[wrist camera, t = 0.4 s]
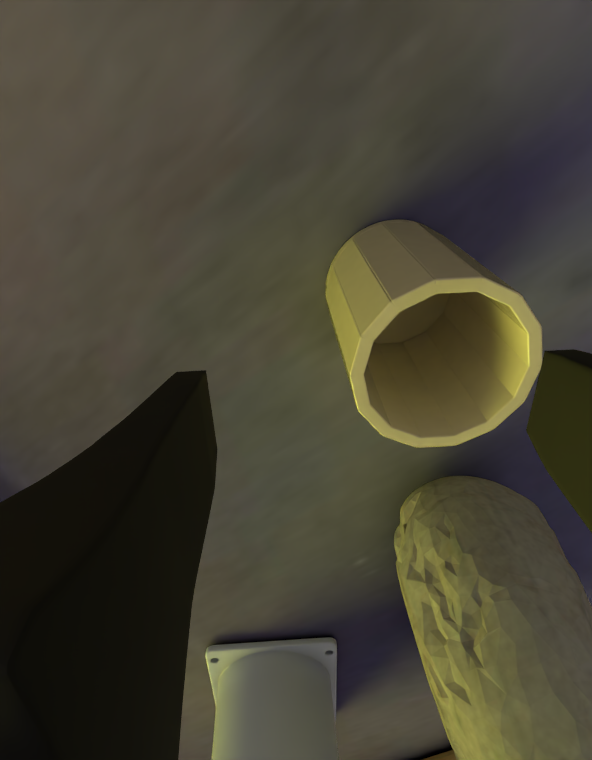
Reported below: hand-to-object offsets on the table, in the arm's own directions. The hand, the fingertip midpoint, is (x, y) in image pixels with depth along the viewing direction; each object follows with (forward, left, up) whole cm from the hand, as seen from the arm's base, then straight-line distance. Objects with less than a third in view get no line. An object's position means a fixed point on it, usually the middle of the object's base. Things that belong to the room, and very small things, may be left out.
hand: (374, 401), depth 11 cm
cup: (-1, -2, -10) cm, 10 cm away
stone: (-17, -8, -10) cm, 21 cm away
